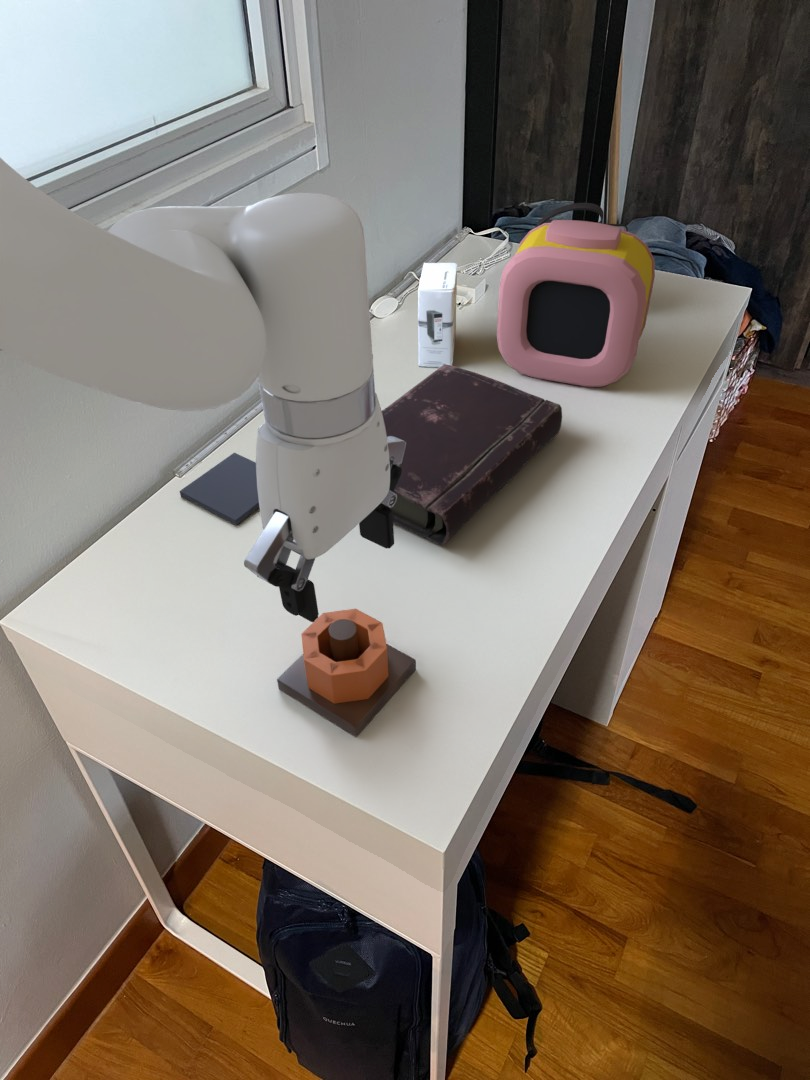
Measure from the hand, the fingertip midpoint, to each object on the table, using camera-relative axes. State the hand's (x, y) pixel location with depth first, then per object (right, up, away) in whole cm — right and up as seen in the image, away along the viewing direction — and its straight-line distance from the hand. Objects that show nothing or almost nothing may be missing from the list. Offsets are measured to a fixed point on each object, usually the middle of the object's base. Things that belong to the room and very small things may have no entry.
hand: (340, 575), depth 66 cm
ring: (0, -9, +8) cm, 12 cm away
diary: (+10, +12, +33) cm, 36 cm away
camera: (+31, +40, +62) cm, 80 cm away
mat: (-15, +9, +30) cm, 34 cm away
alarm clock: (+28, +27, +48) cm, 62 cm away
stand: (0, -10, +9) cm, 14 cm away
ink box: (+10, +30, +52) cm, 60 cm away
